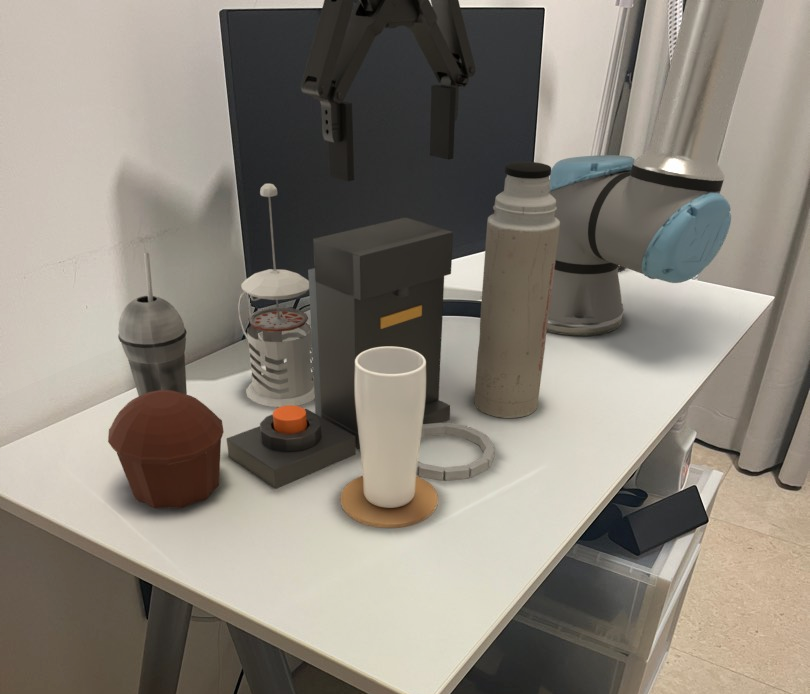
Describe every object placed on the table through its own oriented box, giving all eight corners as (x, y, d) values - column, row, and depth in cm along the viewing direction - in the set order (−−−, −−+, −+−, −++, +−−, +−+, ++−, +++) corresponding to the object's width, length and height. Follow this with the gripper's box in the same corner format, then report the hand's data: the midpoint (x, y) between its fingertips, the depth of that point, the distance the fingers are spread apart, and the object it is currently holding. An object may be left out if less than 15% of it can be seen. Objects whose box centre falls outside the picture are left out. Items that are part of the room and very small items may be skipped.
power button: (293, 416, 93) (292, 402, 92) (313, 427, 91) (312, 413, 90) (267, 426, 91) (266, 411, 90) (286, 438, 89) (285, 423, 88)
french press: (279, 416, 100) (262, 199, 86) (220, 386, 107) (194, 180, 92) (338, 390, 106) (331, 184, 92) (279, 364, 113) (263, 166, 98)
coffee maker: (389, 390, 107) (390, 212, 94) (518, 454, 94) (540, 259, 81) (308, 420, 100) (298, 233, 87) (437, 495, 87) (447, 288, 74)
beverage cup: (123, 435, 96) (87, 261, 84) (159, 408, 101) (130, 242, 90) (177, 447, 94) (149, 271, 82) (211, 419, 99) (189, 250, 88)
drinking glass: (370, 520, 82) (369, 380, 73) (347, 486, 87) (343, 351, 78) (433, 506, 84) (439, 368, 75) (406, 474, 89) (409, 341, 80)
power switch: (307, 426, 98) (305, 395, 96) (356, 455, 93) (355, 423, 91) (228, 457, 92) (224, 425, 90) (275, 489, 87) (273, 456, 85)
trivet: (392, 466, 91) (392, 461, 91) (457, 503, 86) (457, 498, 85) (321, 498, 86) (320, 493, 85) (385, 541, 80) (385, 536, 80)
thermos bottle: (539, 393, 107) (568, 159, 90) (535, 421, 100) (565, 175, 84) (478, 386, 108) (495, 154, 92) (470, 414, 102) (487, 170, 85)
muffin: (250, 493, 86) (241, 406, 81) (150, 530, 81) (133, 440, 75) (197, 448, 94) (184, 365, 88) (102, 479, 88) (82, 393, 82)
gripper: (461, -98, 79) (452, 143, 92) (245, -106, 65) (269, 180, 78) (522, -100, 75) (504, 154, 87) (304, -108, 61) (320, 196, 73)
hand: (393, 167), depth 83 cm, fingers open, 13 cm apart
